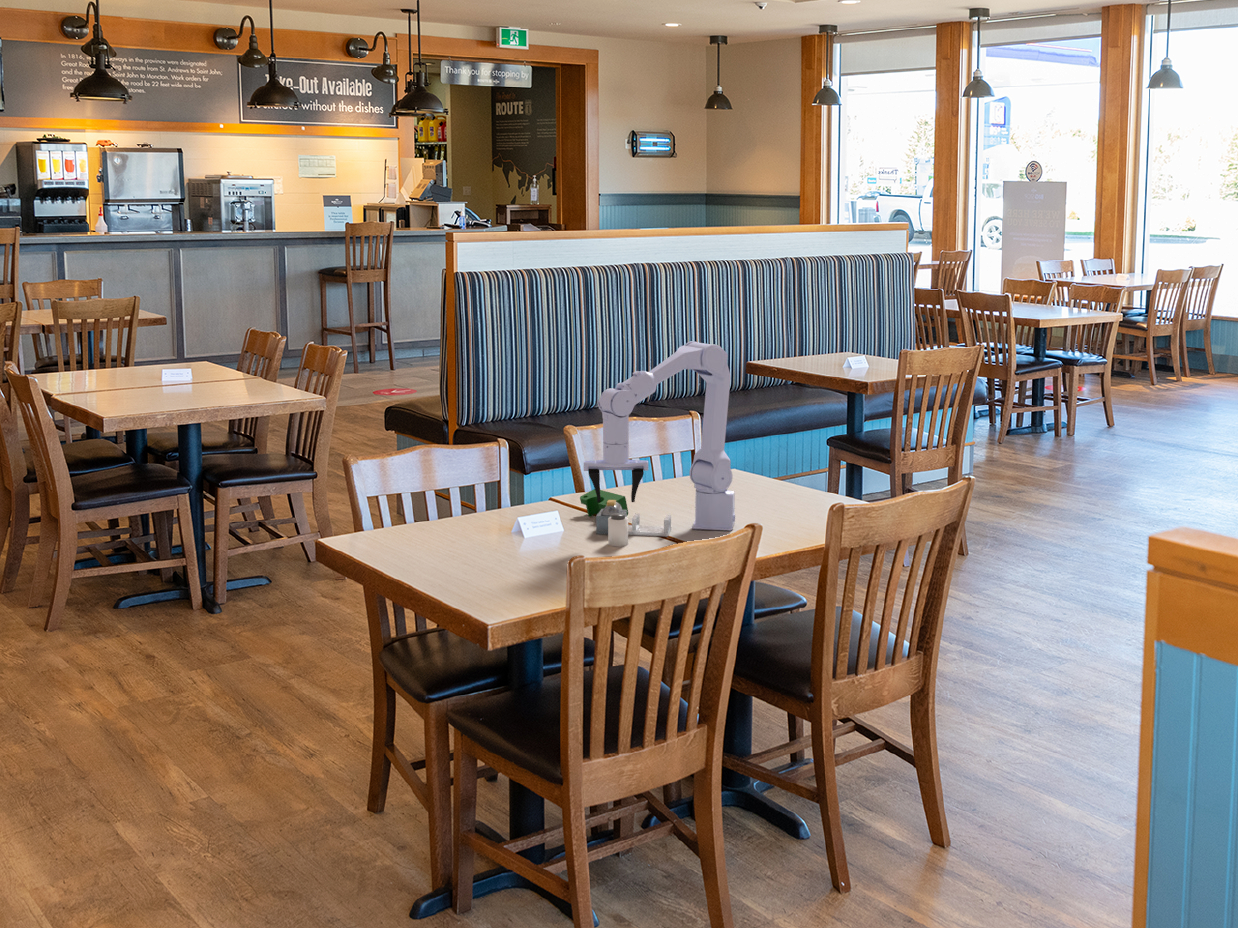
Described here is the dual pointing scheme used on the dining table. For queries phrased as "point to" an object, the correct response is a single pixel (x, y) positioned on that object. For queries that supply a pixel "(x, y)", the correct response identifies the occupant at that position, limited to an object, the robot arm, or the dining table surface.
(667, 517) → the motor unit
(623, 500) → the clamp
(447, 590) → the dining table surface
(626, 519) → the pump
